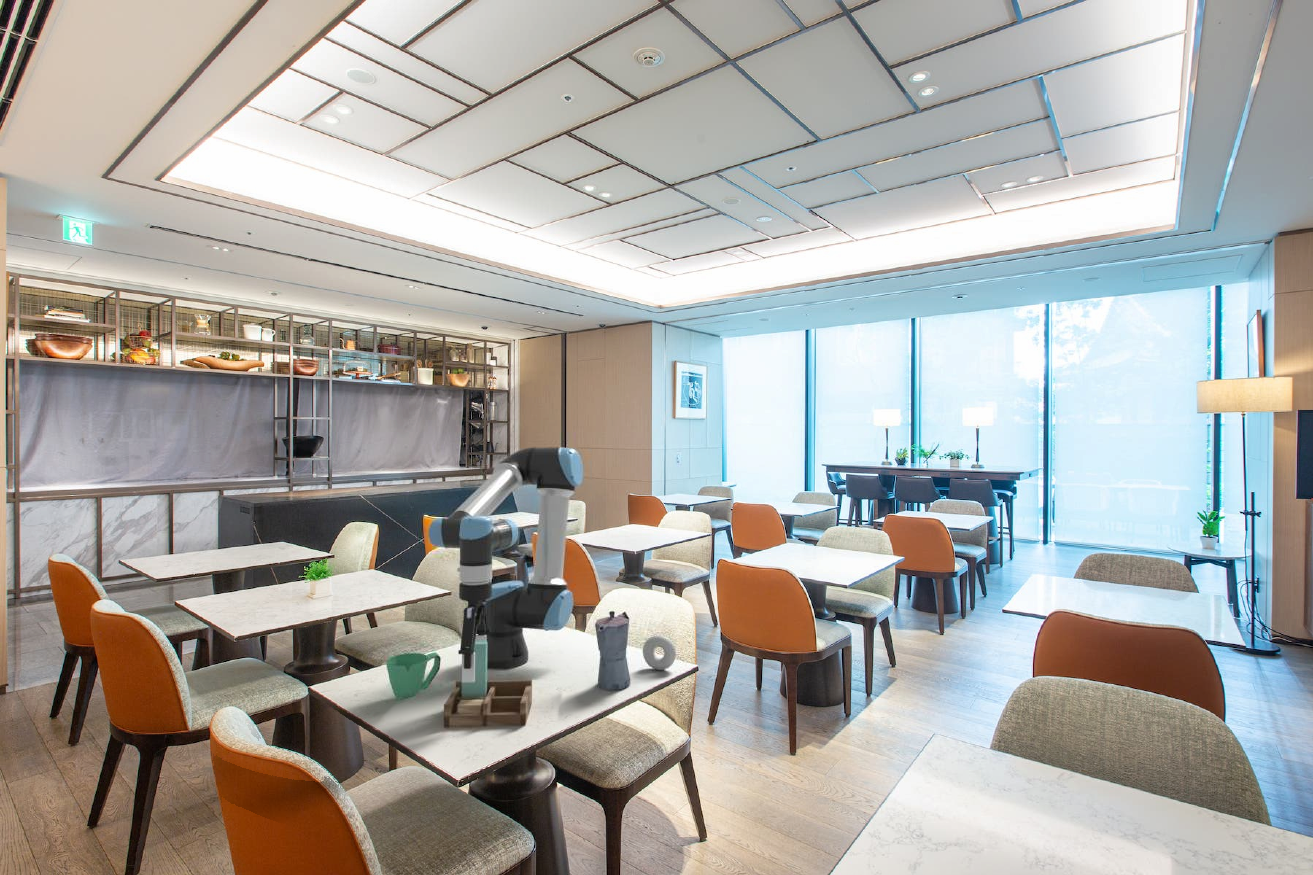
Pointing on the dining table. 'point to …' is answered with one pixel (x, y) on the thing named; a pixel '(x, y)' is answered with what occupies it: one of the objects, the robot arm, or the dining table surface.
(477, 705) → the offcut top
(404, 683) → the mug
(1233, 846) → the dining table surface
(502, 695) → the rack
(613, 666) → the moka pot
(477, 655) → the panel
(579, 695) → the dining table surface
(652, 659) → the donut
